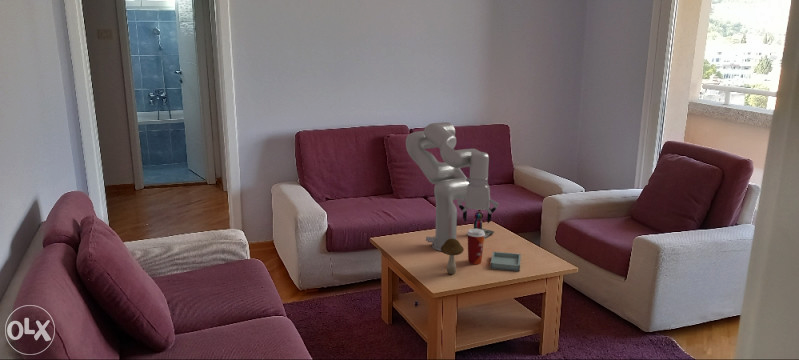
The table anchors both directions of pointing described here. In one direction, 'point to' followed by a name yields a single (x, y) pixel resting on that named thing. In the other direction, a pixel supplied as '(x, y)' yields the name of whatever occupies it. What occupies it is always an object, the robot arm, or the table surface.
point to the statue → (479, 223)
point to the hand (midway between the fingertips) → (476, 221)
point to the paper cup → (475, 245)
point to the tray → (505, 261)
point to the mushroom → (451, 253)
